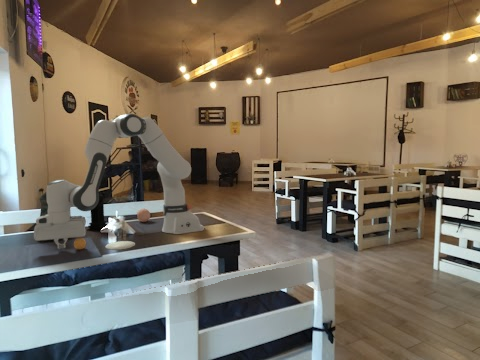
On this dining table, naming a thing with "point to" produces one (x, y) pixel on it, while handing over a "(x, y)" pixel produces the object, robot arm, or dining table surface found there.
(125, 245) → the cream disc
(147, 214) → the toy ball
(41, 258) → the dining table surface
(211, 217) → the dining table surface
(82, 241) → the ball
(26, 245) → the dining table surface
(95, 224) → the chess piece
